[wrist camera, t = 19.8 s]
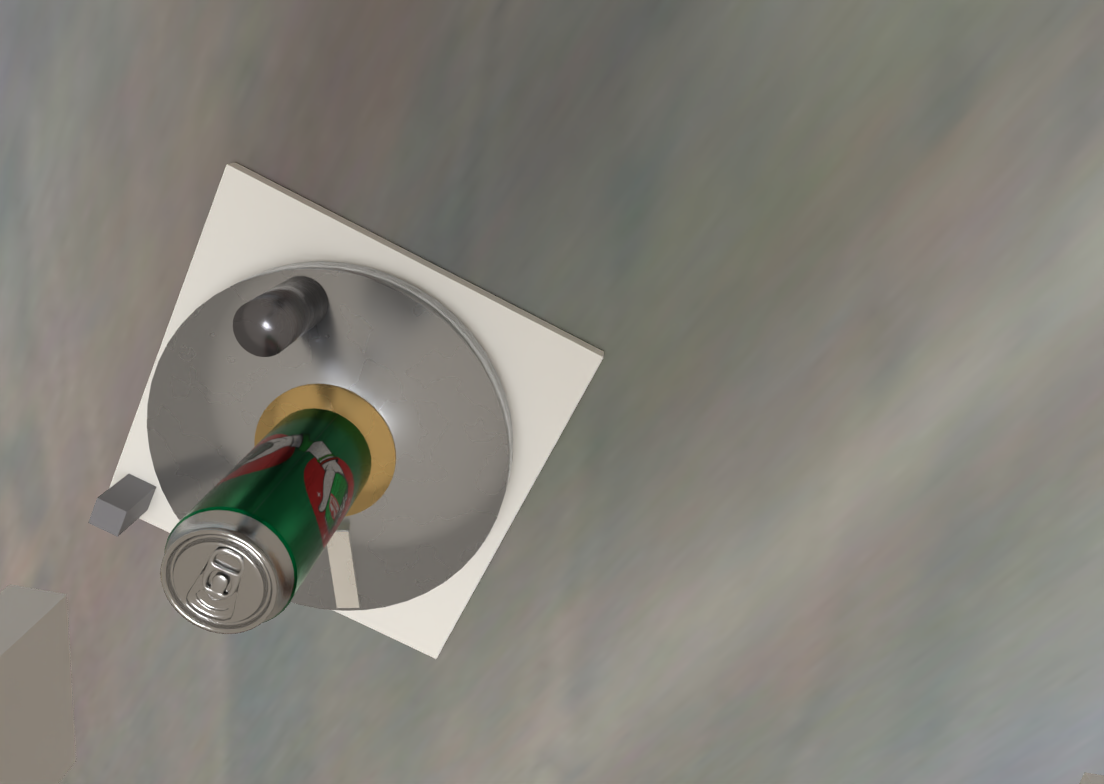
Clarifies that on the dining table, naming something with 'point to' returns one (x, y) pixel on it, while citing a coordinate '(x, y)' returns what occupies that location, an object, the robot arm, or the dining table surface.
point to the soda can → (265, 523)
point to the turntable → (358, 395)
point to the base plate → (500, 328)
